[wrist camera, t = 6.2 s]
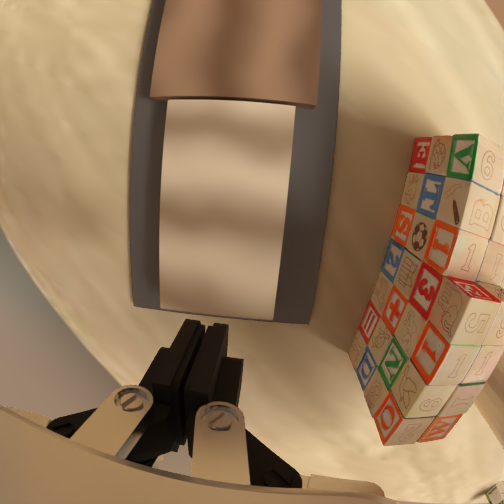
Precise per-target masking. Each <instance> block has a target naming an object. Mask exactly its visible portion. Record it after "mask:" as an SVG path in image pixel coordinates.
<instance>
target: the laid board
mask: <svg viewBox="0 0 504 504" xmlns="http://www.w3.org/2000/svg"><path fill="white" fill-rule="evenodd" d="M321 24H322V0H166V2H165V7H164V11H163V16H162V21H161V26H160V31H159V37H158V42H157V48H156V54H155V61H154V67H153V74H152V82H151V90H150V97H151V98H153V99H155V100H157V101H168V100H230V101H248V102H261V103H272V104H282V105H290V106H296V108H303V109H311V110H313V109H314V108H315V107H316V106H317V98H318V84H319V67H320V48H321Z"/></svg>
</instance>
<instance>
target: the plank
mask: <svg viewBox="0 0 504 504" xmlns="http://www.w3.org/2000/svg"><path fill="white" fill-rule="evenodd" d="M295 108H296V106H290V105H282V104H272V103H261V102H248V101H230V100H168V104H167V113H166V123H165V134H164V145H163V159H162V175H161V195H160V229H159V274H160V308H162V309H169V310H177V311H185V312H193V313H202V314H211V315H220V316H230V317H241V318H252V319H264V320H273V316H274V308H275V300H276V292H277V284H278V276H279V268H280V259H281V251H282V242H283V233H284V224H285V215H286V205H287V195H288V186H289V175H290V165H291V154H292V143H293V132H294V120H295Z"/></svg>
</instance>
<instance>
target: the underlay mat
mask: <svg viewBox="0 0 504 504" xmlns="http://www.w3.org/2000/svg"><path fill="white" fill-rule="evenodd" d="M165 2H166V0H153V4H152V8H151V12H150V17H149V21H148V26H147V31H146V36H145V42H144V47H143V53H142V59H141V65H140V72H139V79H138V86H137V94H136V103H135V113H134V123H133V135H132V150H131V169H130V255H131V275H132V290H133V302H134V306H136V307H143V308H150V309H157V310H164V311H171V312H179V313H187V314H196V315H204V316H214V317H223V318H233V319H244V320H255V321H268V322H281V323H296V324H309V321H310V316H311V310H312V305H313V300H314V294H315V289H316V283H317V277H318V271H319V265H320V259H321V252H322V246H323V239H324V232H325V225H326V218H327V211H328V203H329V195H330V186H331V178H332V169H333V159H334V149H335V138H336V127H337V114H338V99H339V82H340V60H341V0H322V24H321V48H320V67H319V84H318V98H317V106H316V107H315V108H314V109H313V110H311V109H303V108H295V120H294V132H293V143H292V154H291V165H290V175H289V186H288V195H287V205H286V215H285V224H284V233H283V242H282V251H281V259H280V268H279V276H278V284H277V292H276V300H275V308H274V316H273V320H264V319H252V318H241V317H230V316H220V315H211V314H202V313H193V312H185V311H177V310H169V309H162V308H160V274H159V229H160V195H161V175H162V159H163V145H164V134H165V123H166V113H167V104H168V101H157V100H155V99H153V98H151V97H150V90H151V82H152V74H153V67H154V61H155V54H156V48H157V42H158V37H159V31H160V26H161V21H162V16H163V11H164V7H165Z"/></svg>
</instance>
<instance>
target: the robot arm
mask: <svg viewBox="0 0 504 504" xmlns="http://www.w3.org/2000/svg"><path fill="white" fill-rule="evenodd" d="M228 328H229V326H228V324H220V323H214V325H213V326H208V328H207V330H206V333H205V325H201V323H200V321H197V320H190V319H186V320H185V321H184V323H183V325H182V327H181V328H180V330H179V332H178V334H177V336H176V337H175V339H174V341H173V343H172V345H171V347H170V348H165V347H161V348H160V350H159V351H158V353H157V355H156V356H155V358H154V360H153V361H152V363H151V365H150V367H149V368H148V370H147V372H146V373H145V375H144V377H143V379H142V380H141V382H140V384H139V386H137V385H126V386H122V387H119V388H117V389H116V390H115V391H113V393H111V394H110V396H109V397H108V398H107V399H106V400H105V401H104V402H103V403H102V404H101V405H100V406H99V407H98V408H95V409H91V410H88V411H84V412H80V413H76V414H72V415H68V416H64V417H60V418H57V419H54V420H53V421H51V419H50V417H46V416H42V415H38V414H34V413H30V412H26V411H23V410H19V409H16V408H12V407H4V406H2V405H0V504H401V503H399V502H397V501H395V500H392V499H389V498H386V497H385V495H384V492H383V490H382V489H381V487H379V486H378V485H376V484H375V483H371V482H366V481H356V480H347V479H339V478H332V477H326V476H320V475H314V474H311V476H310V477H309V476H304V475H300V474H299V473H298V472H297V471H296V470H295V469H294V468H293V467H291V466H290V465H289V464H287V463H286V462H285V461H284V460H282V459H281V458H280V457H279V456H277V455H276V454H275V453H274V452H272V451H271V450H270V449H269V448H268V447H266V446H265V445H264V444H263V443H262V442H260V441H259V440H258V439H257V438H256V437H255V436H253V435H252V434H251V433H250V432H249V431H248V430H247V429H245V422H244V416H243V413H242V412H241V410H240V409H239V408H238V403H239V397H240V390H241V382H242V372H243V359H238V358H230V357H227V346H228ZM473 403H474V404H475V406H476V407H477V409H478V410H479V412H480V413H481V415H482V416H483V418H484V419H485V420H486V422H487V424H488V425H489V427H490V428H491V430H492V431H493V433H494V434H495V436H496V437H497V439H498V441H499V442H500V444H501V445H502V447H503V449H504V352H503V353H502V355H501V357H500V359H499V361H498V363H497V365H496V366H495V368H494V370H493V371H492V373H491V375H490V377H489V378H488V379H487V380H486V381H485V385H484V387H483V389H482V390H481V392H480V393H479V395H478V396H477V398H476V399H475V401H474V402H473ZM186 439H188V450H189V455H190V457H191V458H192V472H191V476H185V475H181V474H177V473H172V472H168V471H163V470H160V469H158V468H159V466H160V464H161V462H162V460H163V457H164V456H163V454H165V453H168V452H170V451H174V452H177V451H178V448H179V445H185V443H186Z"/></svg>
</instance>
